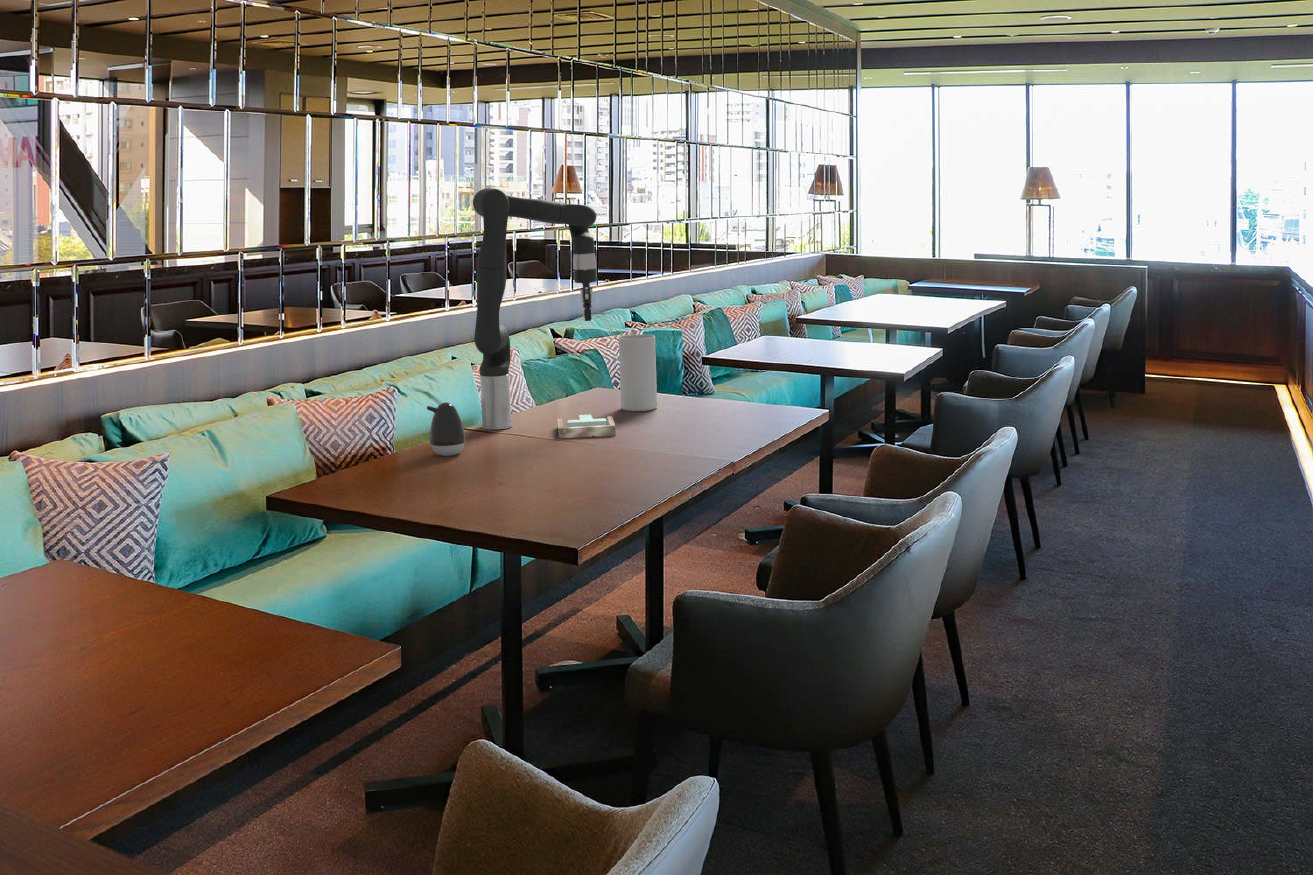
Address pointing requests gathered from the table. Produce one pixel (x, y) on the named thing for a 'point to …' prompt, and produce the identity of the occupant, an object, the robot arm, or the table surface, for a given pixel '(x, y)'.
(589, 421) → the t block
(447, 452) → the pump dispenser
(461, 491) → the table surface
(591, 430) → the shallow wooden tray
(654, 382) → the cylinder vase
